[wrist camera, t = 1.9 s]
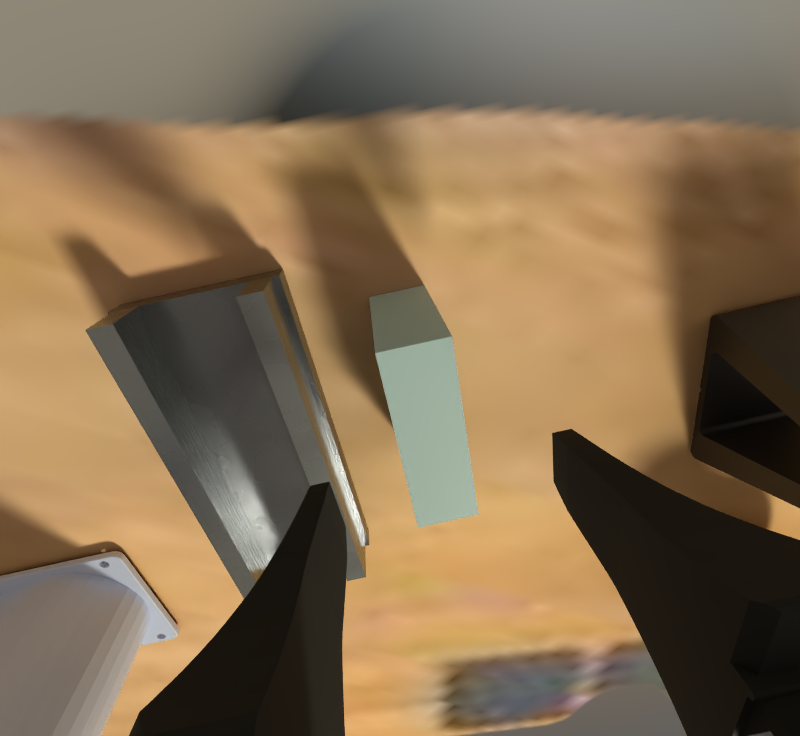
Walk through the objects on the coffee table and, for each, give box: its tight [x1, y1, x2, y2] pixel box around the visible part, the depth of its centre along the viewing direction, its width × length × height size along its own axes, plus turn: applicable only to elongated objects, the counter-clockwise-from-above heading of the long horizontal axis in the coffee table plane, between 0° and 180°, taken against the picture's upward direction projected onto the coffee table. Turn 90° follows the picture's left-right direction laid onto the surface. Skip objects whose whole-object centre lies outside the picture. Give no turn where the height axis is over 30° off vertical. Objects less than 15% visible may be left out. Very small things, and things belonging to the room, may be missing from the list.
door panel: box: [369, 285, 478, 528], centre depth 18 cm, size 2×8×6 cm, turn 11°
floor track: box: [86, 269, 369, 599], centre depth 20 cm, size 7×16×3 cm, turn 11°
